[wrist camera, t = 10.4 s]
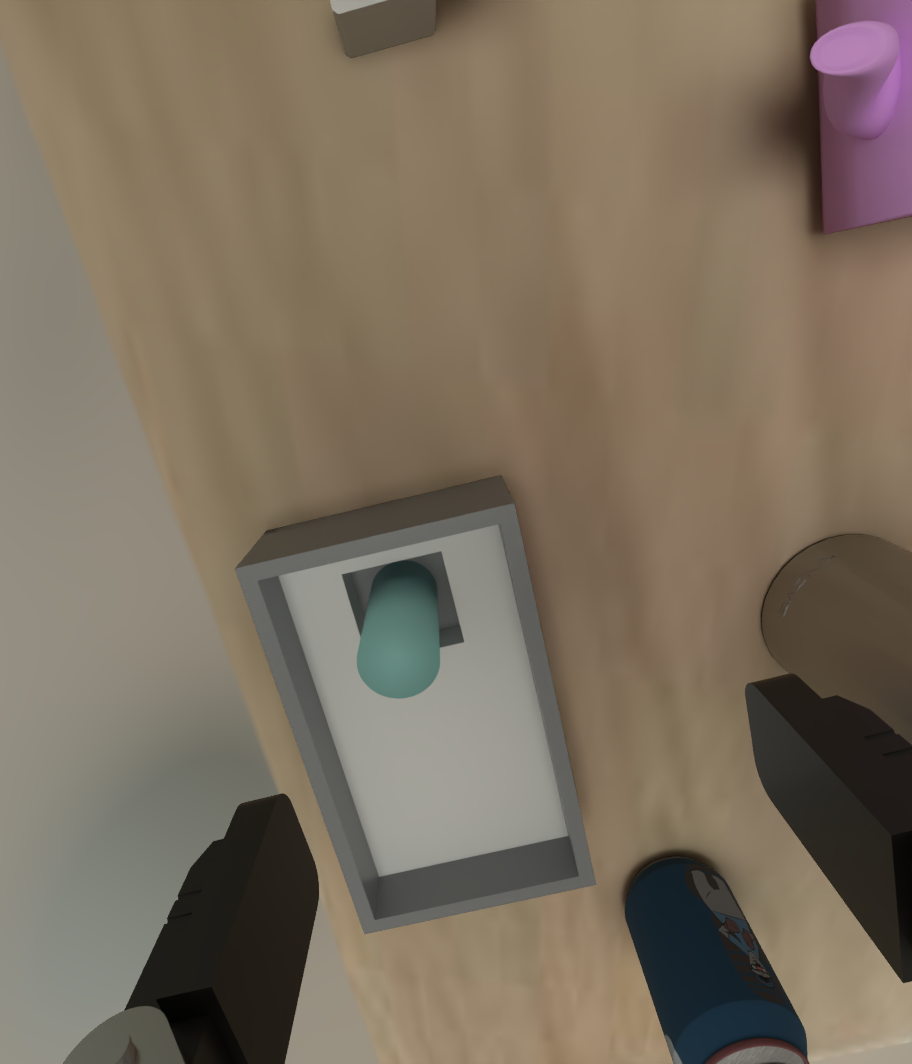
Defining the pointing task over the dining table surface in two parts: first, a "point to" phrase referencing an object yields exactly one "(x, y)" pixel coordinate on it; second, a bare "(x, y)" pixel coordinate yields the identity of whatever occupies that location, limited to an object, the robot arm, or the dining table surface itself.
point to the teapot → (864, 110)
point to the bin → (424, 709)
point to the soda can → (708, 970)
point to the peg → (400, 632)
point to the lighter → (382, 23)
